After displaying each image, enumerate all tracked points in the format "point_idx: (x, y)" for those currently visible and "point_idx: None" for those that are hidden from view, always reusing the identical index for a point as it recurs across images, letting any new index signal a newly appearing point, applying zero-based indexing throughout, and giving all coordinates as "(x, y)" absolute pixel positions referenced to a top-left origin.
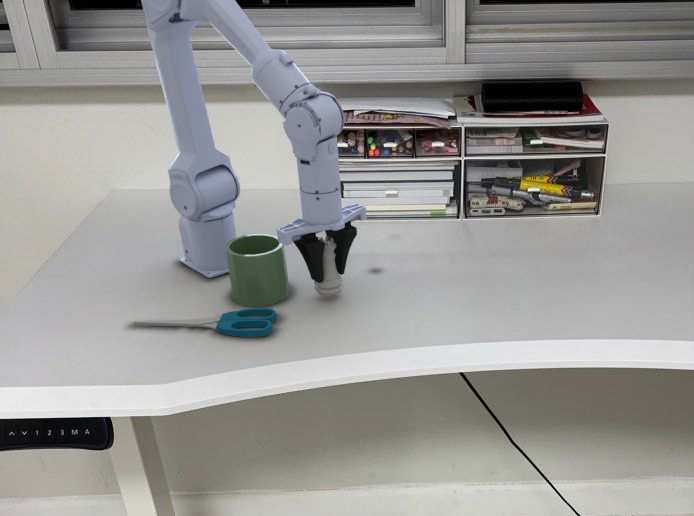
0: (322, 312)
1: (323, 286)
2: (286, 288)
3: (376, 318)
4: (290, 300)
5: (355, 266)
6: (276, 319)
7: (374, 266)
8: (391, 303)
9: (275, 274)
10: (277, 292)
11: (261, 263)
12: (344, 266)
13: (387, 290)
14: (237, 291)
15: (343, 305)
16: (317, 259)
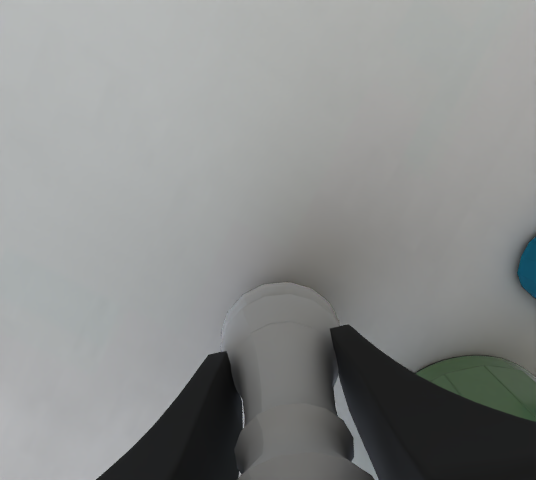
0: (361, 214)
1: (326, 314)
2: None
3: (200, 44)
4: (407, 352)
5: (102, 468)
6: (530, 241)
7: (39, 441)
8: (87, 140)
9: None
10: (467, 383)
11: None
12: (201, 372)
13: (61, 253)
14: None
15: (267, 226)
16: (423, 389)
